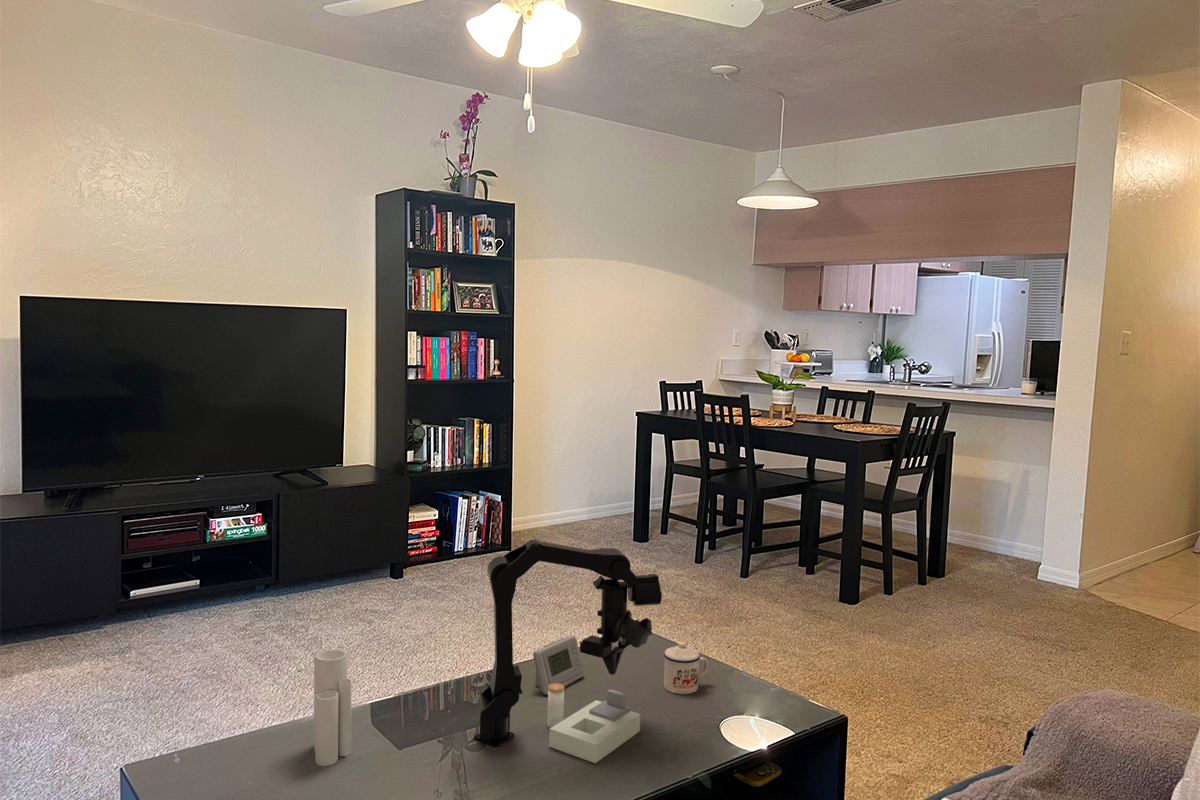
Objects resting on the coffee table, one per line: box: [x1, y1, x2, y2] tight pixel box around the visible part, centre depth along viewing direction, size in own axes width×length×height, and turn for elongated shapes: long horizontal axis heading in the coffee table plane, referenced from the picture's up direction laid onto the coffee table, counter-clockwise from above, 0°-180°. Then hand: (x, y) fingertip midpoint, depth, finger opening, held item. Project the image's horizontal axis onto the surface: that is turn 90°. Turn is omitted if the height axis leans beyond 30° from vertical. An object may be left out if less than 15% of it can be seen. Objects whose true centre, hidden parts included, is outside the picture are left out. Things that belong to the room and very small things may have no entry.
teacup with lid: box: [663, 641, 709, 695], centre depth 217 cm, size 12×9×12 cm
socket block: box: [548, 699, 641, 764], centre depth 188 cm, size 18×12×4 cm, turn 147°
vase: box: [313, 648, 352, 767], centre depth 178 cm, size 11×7×20 cm, turn 22°
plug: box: [546, 683, 565, 729], centre depth 194 cm, size 4×4×9 cm
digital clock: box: [532, 634, 585, 696], centre depth 217 cm, size 16×9×11 cm, turn 133°
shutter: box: [589, 689, 631, 721], centre depth 192 cm, size 7×7×4 cm
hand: (612, 674), depth 192 cm, fingers closed
